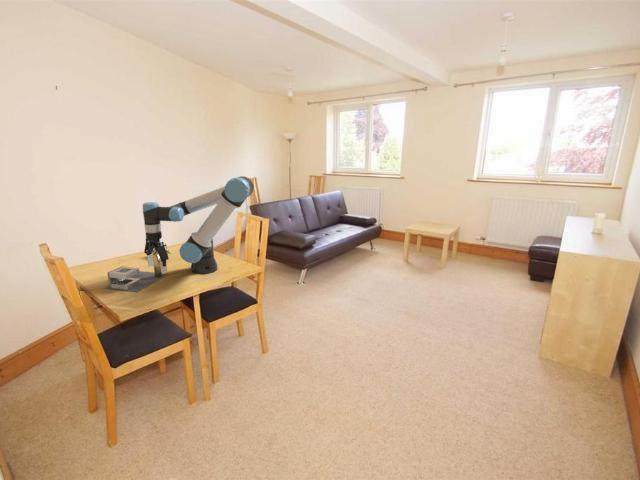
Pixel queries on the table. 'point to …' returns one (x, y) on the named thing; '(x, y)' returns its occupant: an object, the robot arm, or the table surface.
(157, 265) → the pin
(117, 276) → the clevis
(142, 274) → the mat
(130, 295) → the table surface
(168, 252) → the passion flower
